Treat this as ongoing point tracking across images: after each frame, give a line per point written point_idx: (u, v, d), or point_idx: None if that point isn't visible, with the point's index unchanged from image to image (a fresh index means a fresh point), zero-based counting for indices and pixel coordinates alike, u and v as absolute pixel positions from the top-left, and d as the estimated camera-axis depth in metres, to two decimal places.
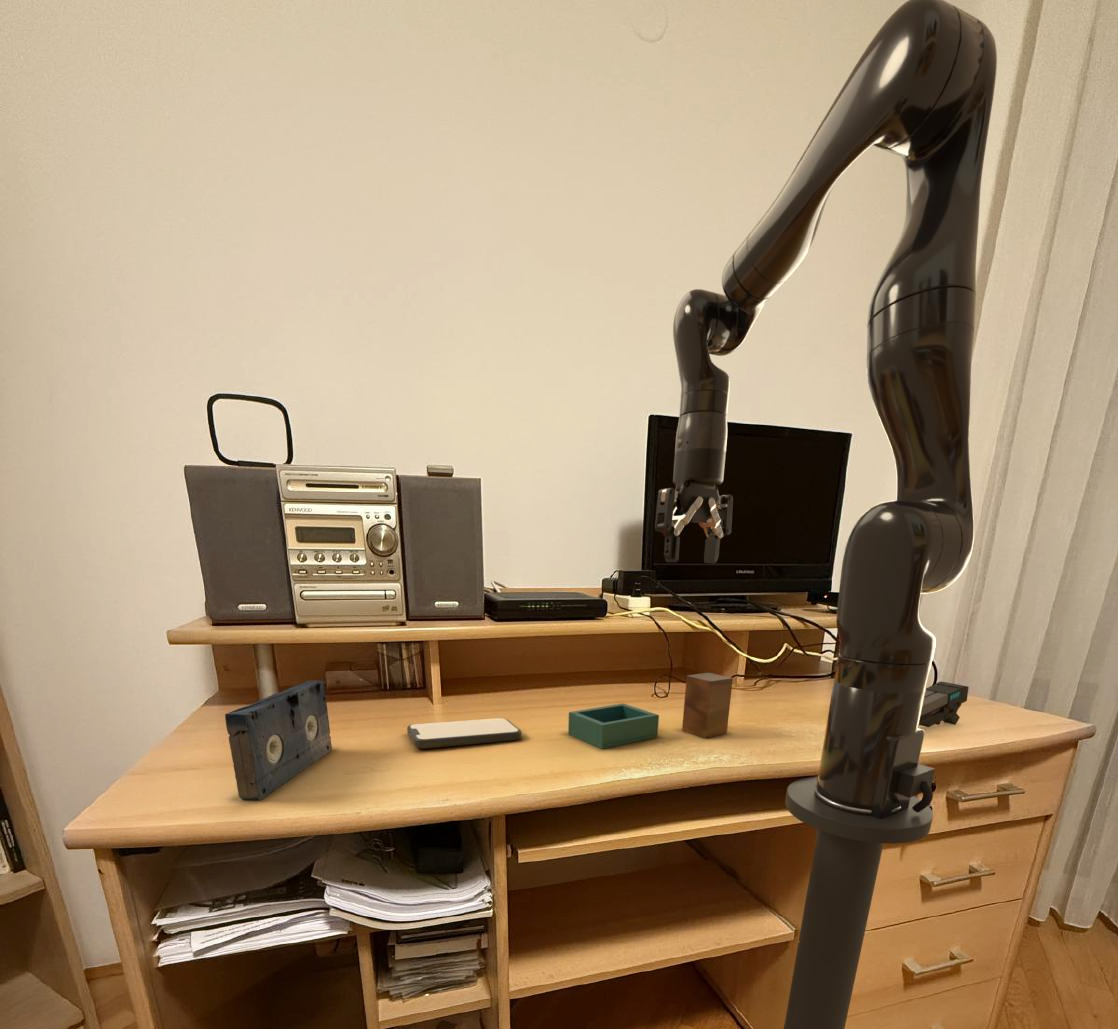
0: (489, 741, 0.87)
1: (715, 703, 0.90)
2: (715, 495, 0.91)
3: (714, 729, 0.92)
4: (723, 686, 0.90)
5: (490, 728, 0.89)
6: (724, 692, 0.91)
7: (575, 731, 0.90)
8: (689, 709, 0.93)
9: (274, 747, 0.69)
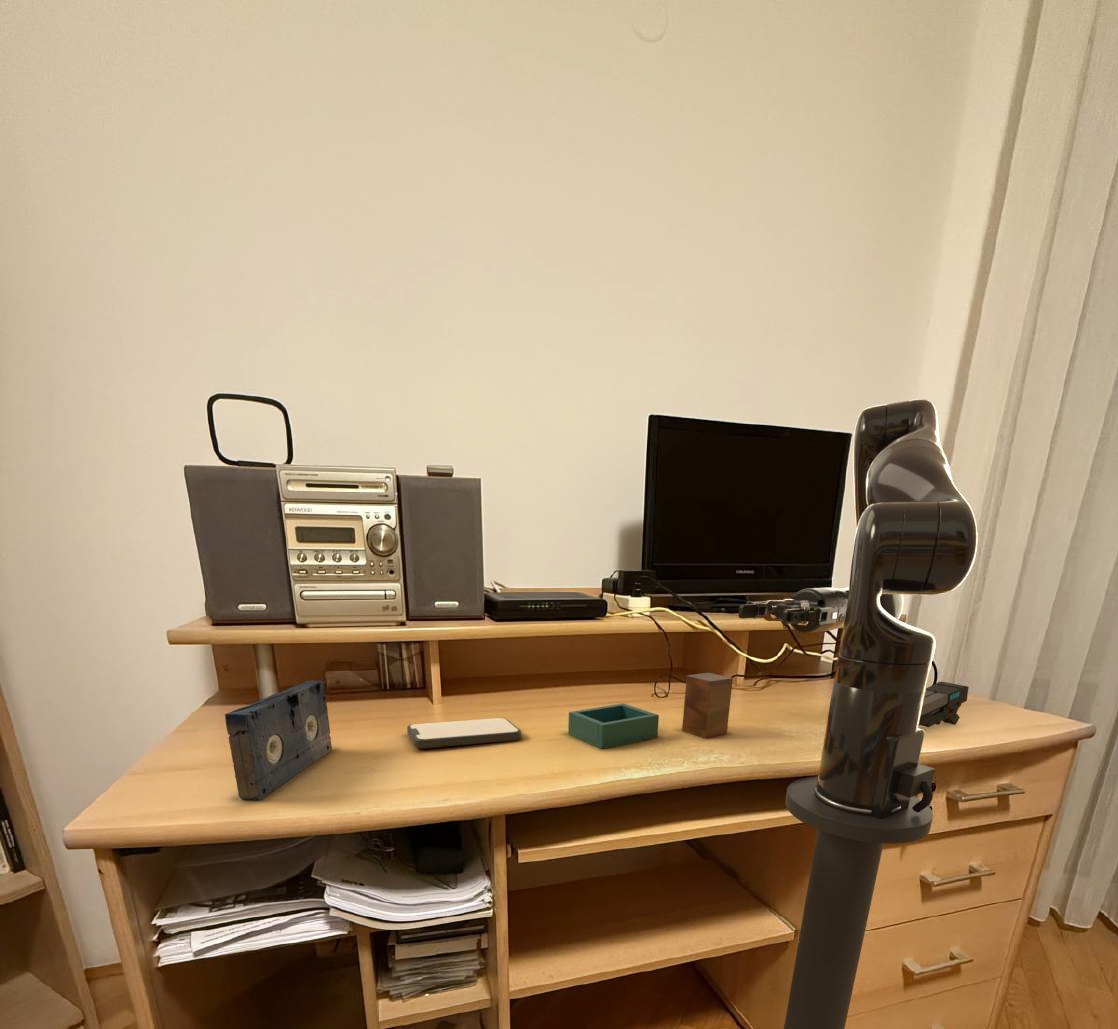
0: (489, 741, 0.87)
1: (715, 703, 0.90)
2: (816, 606, 0.98)
3: (714, 729, 0.92)
4: (723, 686, 0.90)
5: (490, 728, 0.89)
6: (724, 692, 0.91)
7: (575, 731, 0.90)
8: (689, 709, 0.93)
9: (274, 747, 0.69)
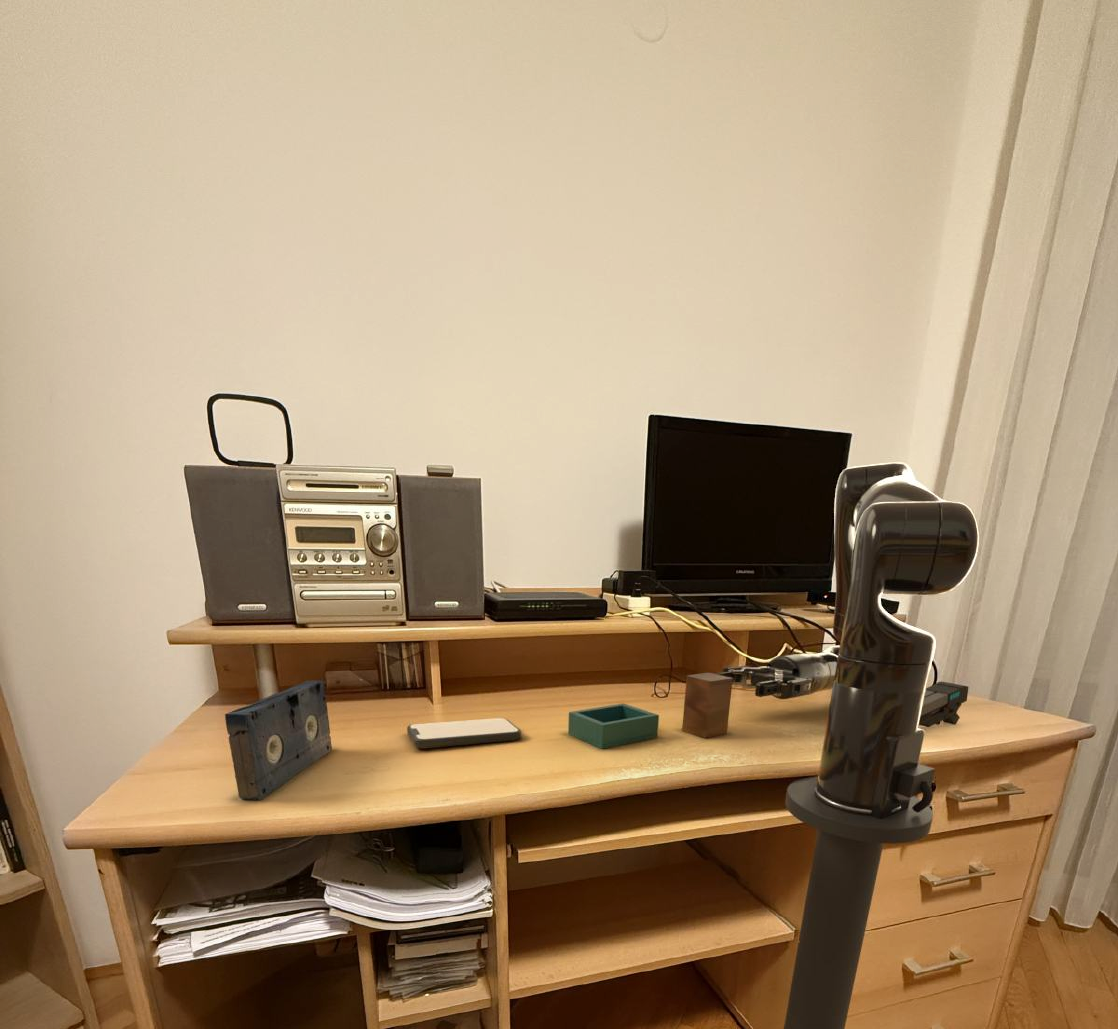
0: (489, 741, 0.87)
1: (715, 703, 0.90)
2: (790, 675, 0.98)
3: (714, 729, 0.92)
4: (723, 686, 0.90)
5: (490, 728, 0.89)
6: (724, 692, 0.91)
7: (575, 731, 0.90)
8: (689, 709, 0.93)
9: (274, 747, 0.69)
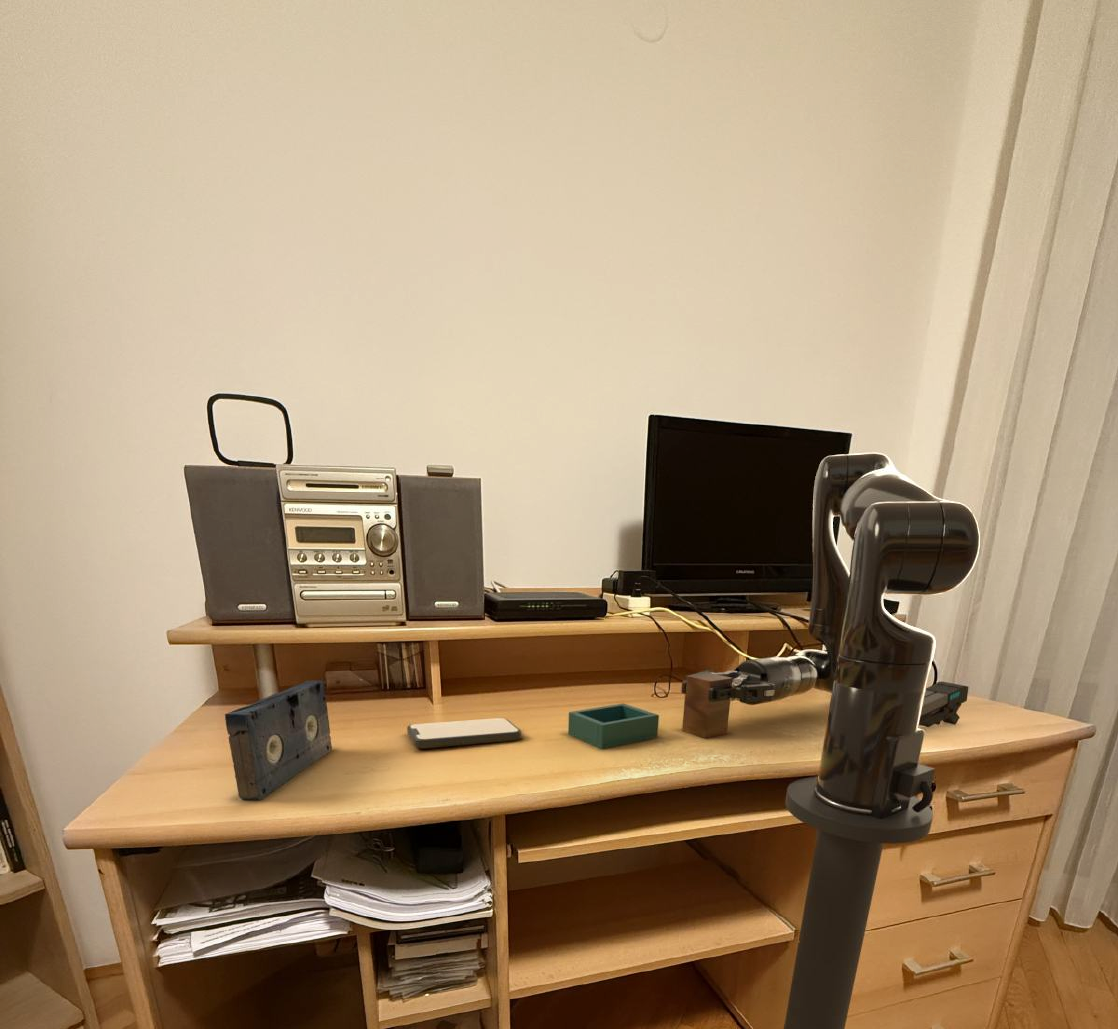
0: (489, 741, 0.87)
1: (715, 703, 0.90)
2: (759, 680, 0.94)
3: (714, 729, 0.92)
4: None
5: (490, 728, 0.89)
6: None
7: (575, 731, 0.90)
8: (689, 709, 0.93)
9: (274, 747, 0.69)
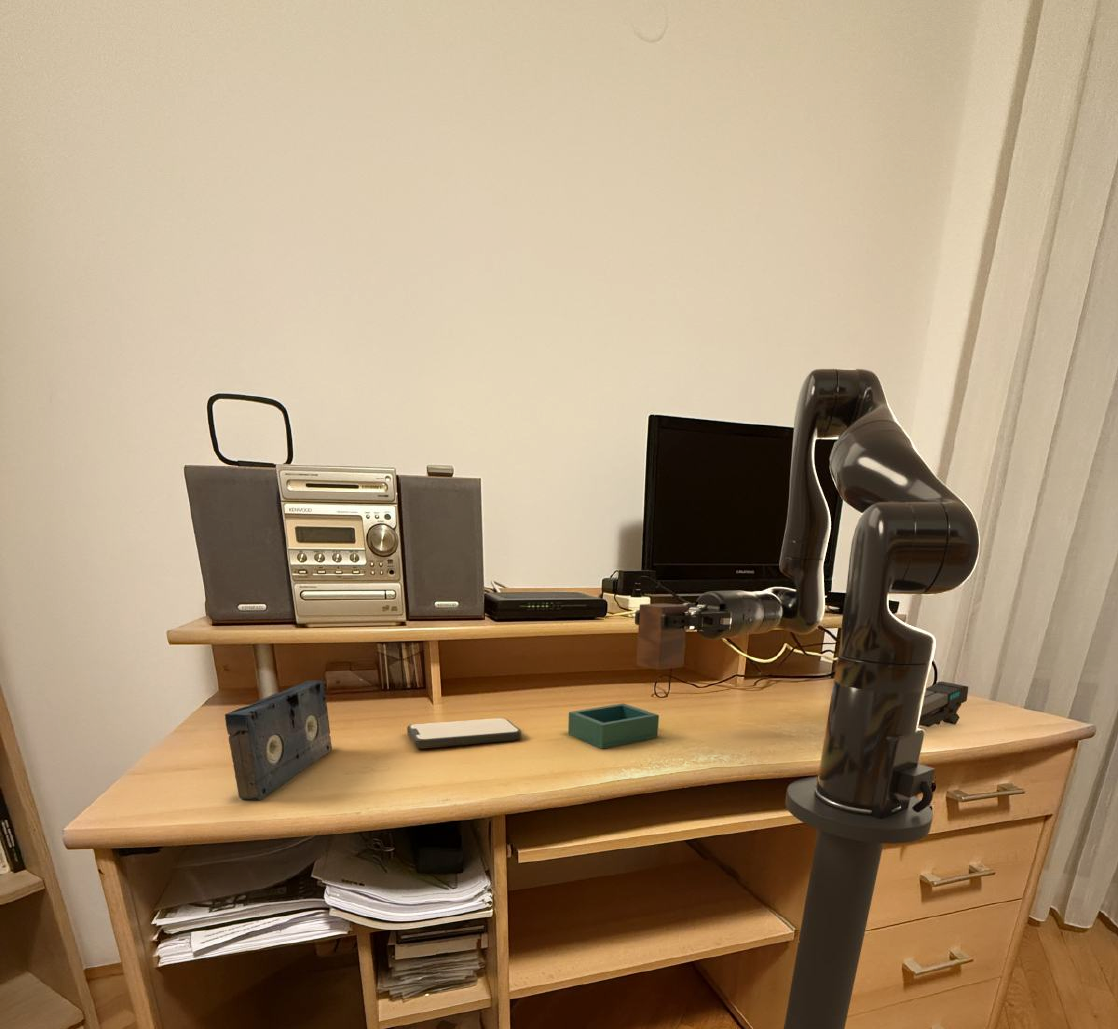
0: (489, 741, 0.87)
1: (669, 632, 0.85)
2: (717, 610, 0.89)
3: (668, 660, 0.87)
4: None
5: (490, 728, 0.89)
6: None
7: (575, 731, 0.90)
8: (643, 640, 0.88)
9: (274, 747, 0.69)
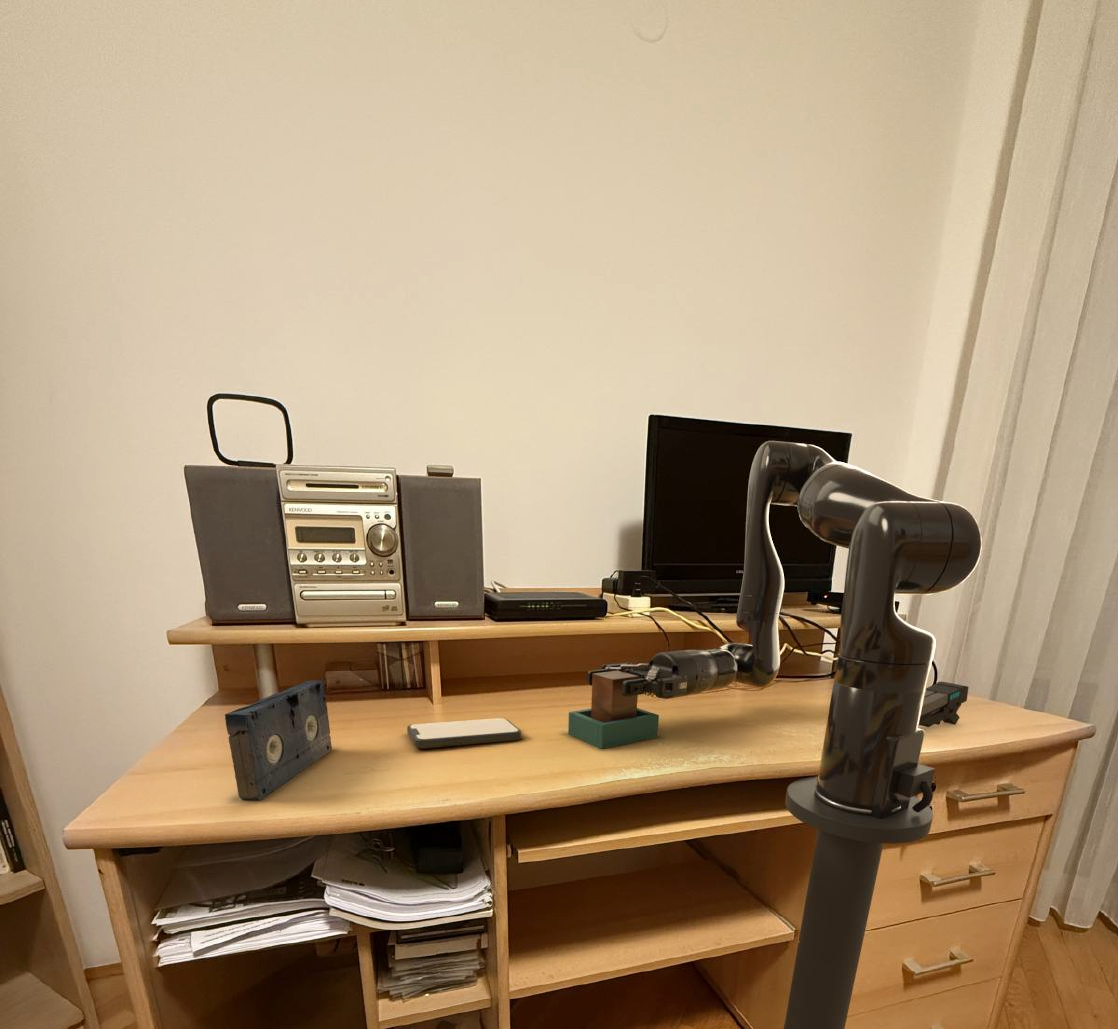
0: (489, 741, 0.87)
1: (620, 702, 0.87)
2: (668, 673, 0.91)
3: None
4: None
5: (490, 728, 0.89)
6: None
7: (575, 731, 0.90)
8: (596, 708, 0.90)
9: (274, 747, 0.69)
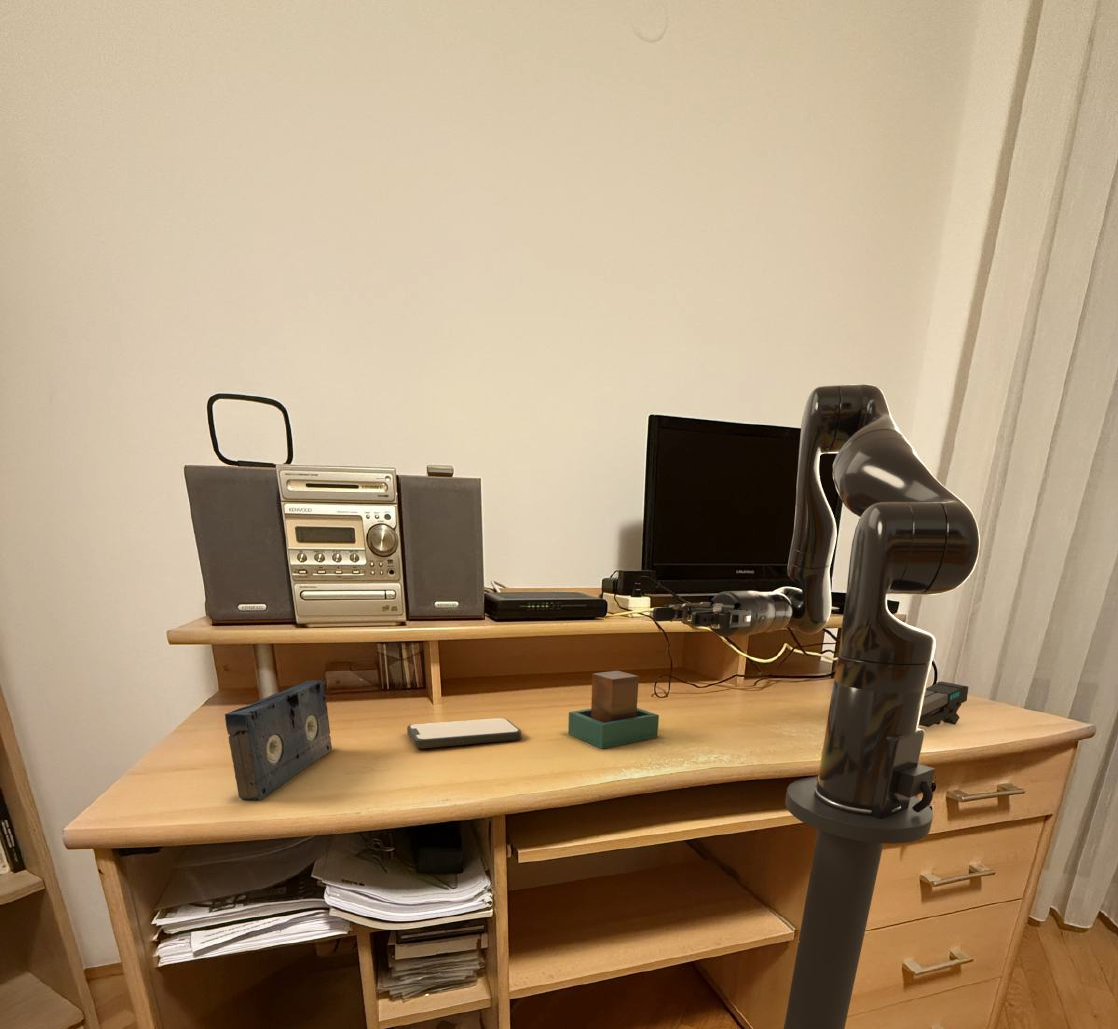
0: (489, 741, 0.87)
1: (620, 702, 0.87)
2: (731, 609, 0.95)
3: None
4: (627, 684, 0.87)
5: (490, 728, 0.89)
6: (629, 691, 0.88)
7: (575, 731, 0.90)
8: (596, 708, 0.90)
9: (274, 747, 0.69)
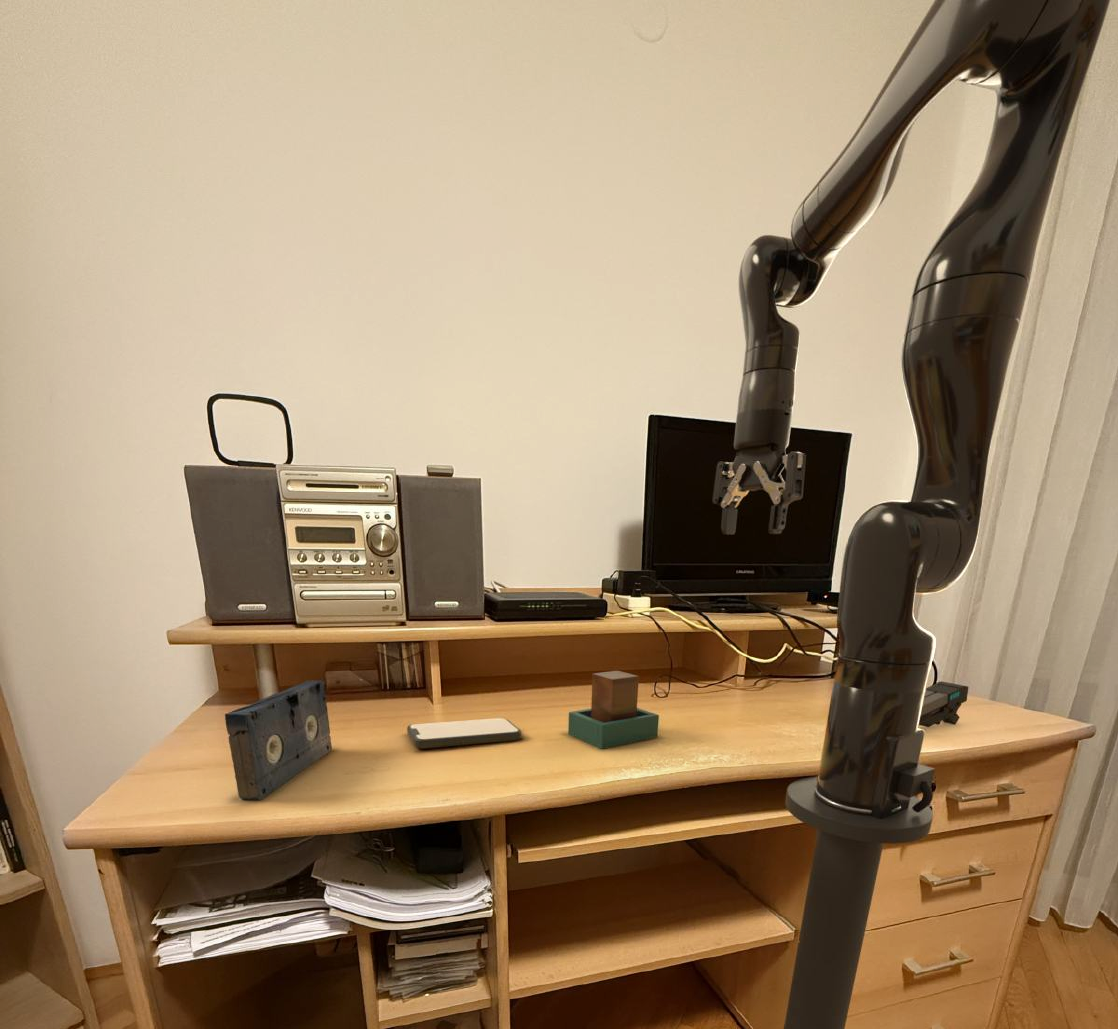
0: (489, 741, 0.87)
1: (620, 702, 0.87)
2: (771, 457, 0.82)
3: None
4: (627, 684, 0.87)
5: (490, 728, 0.89)
6: (629, 691, 0.88)
7: (575, 731, 0.90)
8: (596, 708, 0.90)
9: (274, 747, 0.69)
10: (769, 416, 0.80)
